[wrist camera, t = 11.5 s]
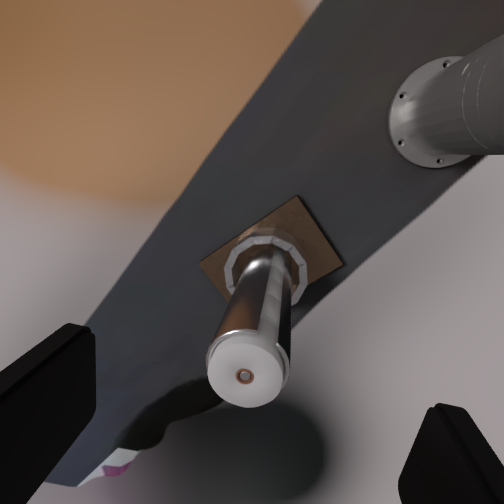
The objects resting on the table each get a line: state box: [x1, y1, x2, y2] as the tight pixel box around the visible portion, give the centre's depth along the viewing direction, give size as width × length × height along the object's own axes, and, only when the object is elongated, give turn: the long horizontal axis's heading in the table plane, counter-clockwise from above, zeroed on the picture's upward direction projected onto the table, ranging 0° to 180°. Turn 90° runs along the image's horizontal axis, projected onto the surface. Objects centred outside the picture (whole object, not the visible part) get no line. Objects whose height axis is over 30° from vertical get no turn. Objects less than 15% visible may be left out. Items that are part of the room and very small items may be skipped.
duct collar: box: [198, 195, 343, 306], centre depth 45 cm, size 18×12×6 cm, turn 126°
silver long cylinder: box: [206, 243, 292, 408], centre depth 34 cm, size 6×6×25 cm
